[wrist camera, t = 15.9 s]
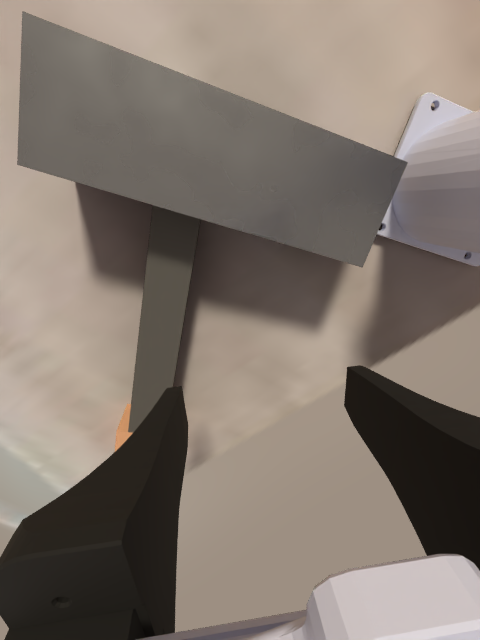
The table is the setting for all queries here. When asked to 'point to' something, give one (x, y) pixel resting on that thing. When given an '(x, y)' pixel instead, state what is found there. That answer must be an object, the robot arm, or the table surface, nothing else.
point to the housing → (195, 147)
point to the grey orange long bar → (161, 313)
